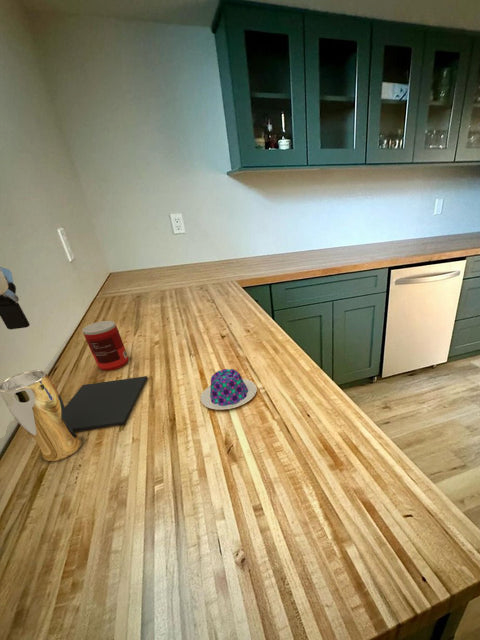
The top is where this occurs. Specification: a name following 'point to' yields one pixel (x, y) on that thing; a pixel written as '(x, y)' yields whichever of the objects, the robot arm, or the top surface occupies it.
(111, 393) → the place mat
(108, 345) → the canned food
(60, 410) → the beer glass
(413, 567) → the top surface
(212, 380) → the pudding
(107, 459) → the top surface
